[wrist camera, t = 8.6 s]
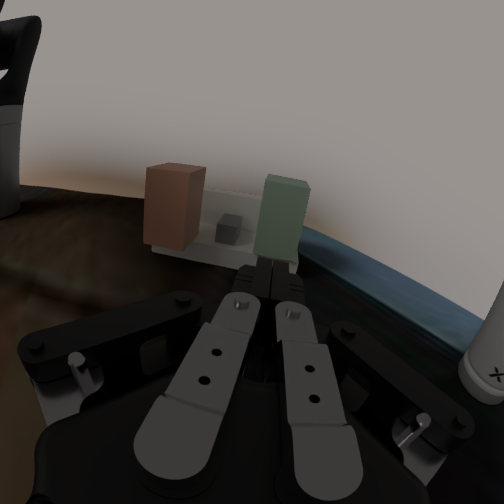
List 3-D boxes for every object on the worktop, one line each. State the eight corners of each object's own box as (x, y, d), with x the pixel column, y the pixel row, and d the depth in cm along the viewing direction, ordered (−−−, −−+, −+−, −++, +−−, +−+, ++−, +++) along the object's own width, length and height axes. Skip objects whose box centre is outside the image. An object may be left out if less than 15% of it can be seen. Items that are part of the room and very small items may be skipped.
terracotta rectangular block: (143, 243, 24) (146, 167, 22) (164, 227, 29) (169, 162, 26) (182, 251, 24) (189, 172, 22) (198, 233, 29) (206, 167, 26)
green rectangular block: (252, 253, 26) (265, 180, 24) (257, 236, 31) (268, 173, 28) (294, 261, 26) (310, 189, 24) (293, 243, 31) (306, 181, 28)
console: (151, 251, 28) (153, 196, 26) (177, 228, 35) (181, 183, 33) (293, 280, 28) (308, 223, 25) (292, 250, 35) (302, 204, 33)
